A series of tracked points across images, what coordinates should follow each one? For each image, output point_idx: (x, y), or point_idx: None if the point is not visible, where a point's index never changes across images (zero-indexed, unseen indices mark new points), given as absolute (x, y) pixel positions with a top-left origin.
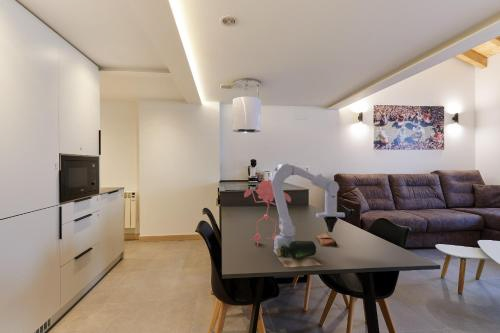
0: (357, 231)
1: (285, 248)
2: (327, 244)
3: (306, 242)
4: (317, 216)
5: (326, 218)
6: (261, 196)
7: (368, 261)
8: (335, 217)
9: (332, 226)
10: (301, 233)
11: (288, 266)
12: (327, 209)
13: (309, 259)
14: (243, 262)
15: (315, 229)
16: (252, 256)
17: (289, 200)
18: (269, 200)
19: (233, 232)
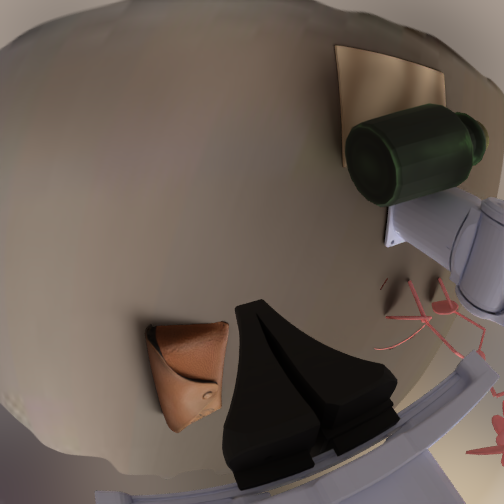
0: (64, 447)
1: (480, 126)
2: (196, 332)
3: (435, 150)
4: (478, 364)
5: (390, 401)
6: None
7: (32, 103)
8: (249, 473)
9: (264, 341)
10: None
11: (437, 74)
12: (460, 496)
13: (364, 116)
14: (491, 145)
15: (197, 453)
16: (475, 185)
17: (480, 450)
18: (498, 415)
19: (425, 358)
